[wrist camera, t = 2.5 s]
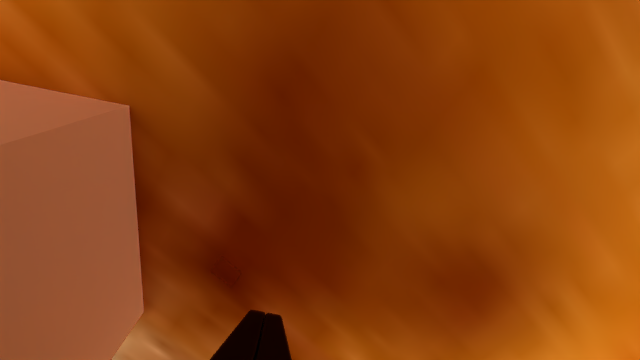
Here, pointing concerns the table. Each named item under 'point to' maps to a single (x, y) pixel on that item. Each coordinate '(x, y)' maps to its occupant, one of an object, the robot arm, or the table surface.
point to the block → (66, 226)
